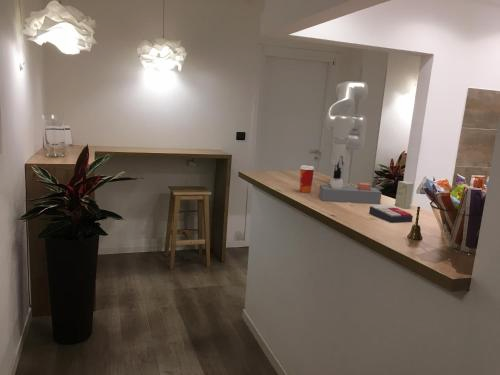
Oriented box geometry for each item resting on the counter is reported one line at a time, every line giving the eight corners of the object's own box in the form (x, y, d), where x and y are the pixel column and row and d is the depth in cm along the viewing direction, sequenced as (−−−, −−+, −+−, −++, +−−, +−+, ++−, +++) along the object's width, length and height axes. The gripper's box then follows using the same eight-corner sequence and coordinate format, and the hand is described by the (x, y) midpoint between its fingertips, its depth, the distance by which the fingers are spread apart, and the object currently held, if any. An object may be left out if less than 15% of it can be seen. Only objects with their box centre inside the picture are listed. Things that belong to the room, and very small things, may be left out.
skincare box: (394, 205, 203) (397, 181, 200) (401, 205, 204) (404, 180, 202) (403, 208, 197) (406, 183, 195) (410, 208, 199) (414, 183, 196)
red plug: (356, 196, 211) (358, 182, 210) (366, 196, 211) (368, 183, 210) (359, 198, 206) (360, 184, 205) (369, 198, 207) (370, 184, 205)
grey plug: (329, 191, 211) (330, 178, 210) (339, 192, 211) (340, 178, 210) (331, 193, 206) (332, 179, 205) (341, 194, 206) (342, 180, 205)
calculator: (391, 215, 168) (369, 204, 182) (390, 225, 169) (368, 214, 183) (413, 214, 172) (390, 204, 186) (412, 224, 173) (389, 213, 187)
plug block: (319, 196, 215) (320, 184, 214) (372, 199, 215) (374, 187, 214) (323, 201, 203) (324, 189, 202) (380, 204, 203) (381, 192, 202)
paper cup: (301, 190, 229) (303, 164, 226) (314, 192, 225) (316, 166, 223) (295, 192, 222) (297, 166, 220) (308, 194, 218) (311, 167, 216)
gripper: (329, 140, 211) (326, 175, 214) (336, 142, 196) (332, 180, 200) (344, 140, 211) (341, 176, 214) (351, 143, 196) (347, 181, 200)
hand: (336, 178), depth 207 cm, fingers closed
